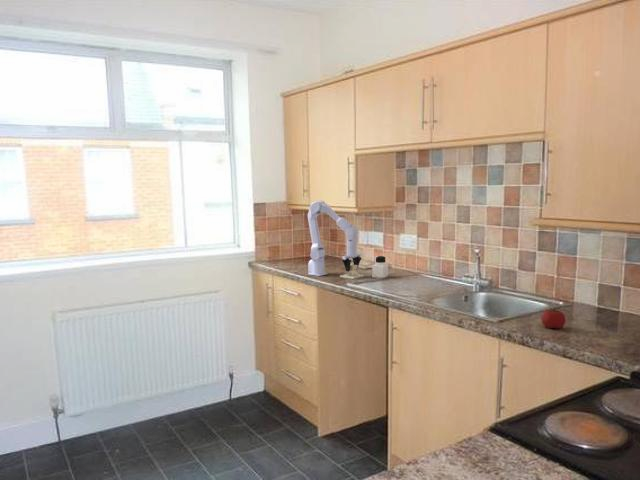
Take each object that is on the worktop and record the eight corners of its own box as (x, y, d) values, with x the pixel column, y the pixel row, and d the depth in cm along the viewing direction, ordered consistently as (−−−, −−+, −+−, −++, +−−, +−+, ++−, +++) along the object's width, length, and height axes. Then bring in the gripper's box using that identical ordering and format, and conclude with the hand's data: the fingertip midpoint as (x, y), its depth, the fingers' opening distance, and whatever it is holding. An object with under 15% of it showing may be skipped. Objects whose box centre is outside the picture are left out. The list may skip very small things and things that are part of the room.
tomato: (548, 323, 191) (549, 305, 190) (569, 328, 185) (570, 309, 184) (536, 327, 186) (537, 308, 185) (557, 332, 180) (558, 312, 179)
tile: (339, 276, 291) (339, 275, 291) (350, 274, 299) (350, 273, 299) (353, 278, 285) (353, 277, 285) (363, 276, 292) (363, 275, 292)
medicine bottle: (388, 276, 292) (388, 255, 290) (383, 278, 286) (383, 257, 284) (377, 275, 295) (377, 255, 294) (371, 277, 289) (371, 256, 288)
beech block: (346, 275, 291) (346, 265, 291) (351, 274, 295) (351, 264, 294) (352, 276, 288) (352, 266, 288) (357, 275, 292) (357, 265, 291)
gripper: (349, 249, 282) (349, 272, 283) (364, 246, 293) (364, 269, 294) (339, 248, 287) (339, 271, 288) (355, 245, 297) (355, 268, 299)
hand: (351, 270), depth 291 cm, fingers open, 7 cm apart
